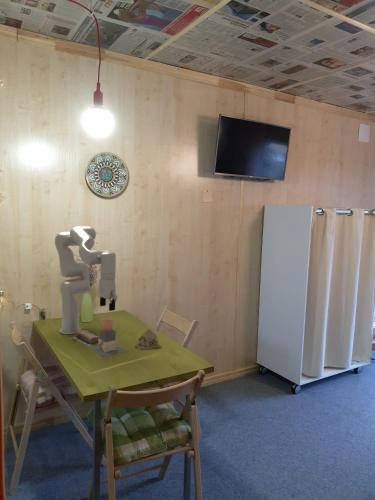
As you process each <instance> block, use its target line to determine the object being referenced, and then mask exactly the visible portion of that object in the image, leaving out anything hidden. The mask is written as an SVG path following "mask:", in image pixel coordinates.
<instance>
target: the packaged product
mask: <svg viewBox="0 0 375 500" xmlns="http://www.w3.org/2000/svg"><path fill="white" fill-rule="evenodd" d="M98 339H100V336H97V335H95V334H93V333H92V332H90V331H88V330H85V329H81V331H77V332H76V333H75V334H74V336H72V340H73V341H75V342H80V343H82V344H83V345H85V346H87V347H91V346H93V345H94V344H95V343H98Z"/></svg>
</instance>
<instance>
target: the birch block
mask: <svg viewBox="0 0 375 500" xmlns="http://www.w3.org/2000/svg"><path fill="white" fill-rule="evenodd" d="M117 342H118V340H117V339H116V338H115V340H113V341H109V342H104V341H102V340H100V339H98V342H97V345H98V348H99V349H100V350H102V351H104V352H108V351H112V350H116V349H117V345H118V343H117Z"/></svg>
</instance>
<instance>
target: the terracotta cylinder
mask: <svg viewBox="0 0 375 500" xmlns="http://www.w3.org/2000/svg"><path fill="white" fill-rule="evenodd" d="M101 321H102V322H101V323H102V324H101V330H102V331H103V332H111V331H113V330H114V319H113V318H112V317H103V318H102V320H101Z"/></svg>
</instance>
